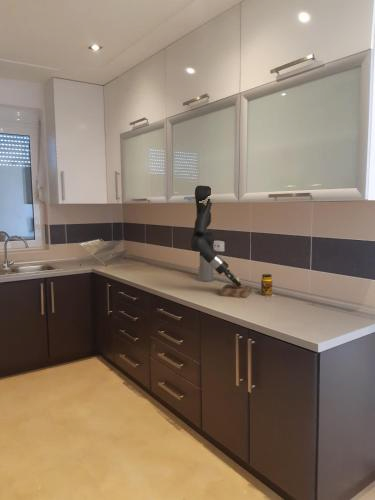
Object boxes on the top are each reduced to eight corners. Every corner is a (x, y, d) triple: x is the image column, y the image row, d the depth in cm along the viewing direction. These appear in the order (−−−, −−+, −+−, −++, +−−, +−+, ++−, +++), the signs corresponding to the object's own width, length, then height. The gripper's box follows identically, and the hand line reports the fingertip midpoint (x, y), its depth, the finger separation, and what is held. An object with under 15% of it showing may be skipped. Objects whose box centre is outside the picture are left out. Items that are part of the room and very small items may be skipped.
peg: (231, 294, 225) (231, 277, 223) (233, 293, 228) (233, 276, 227) (238, 295, 223) (238, 278, 222) (239, 293, 227) (240, 276, 225)
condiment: (264, 297, 218) (264, 276, 217) (256, 294, 226) (256, 273, 225) (275, 296, 221) (276, 275, 219) (267, 292, 229) (267, 272, 227)
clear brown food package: (220, 296, 222) (220, 289, 221) (226, 290, 235) (226, 284, 234) (246, 298, 216) (246, 290, 216) (251, 292, 229) (251, 285, 229)
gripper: (224, 261, 216) (245, 282, 217) (222, 257, 231) (242, 277, 232) (214, 270, 217) (236, 292, 218) (213, 266, 231) (233, 286, 232)
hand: (239, 284), depth 225 cm, fingers open, 5 cm apart
